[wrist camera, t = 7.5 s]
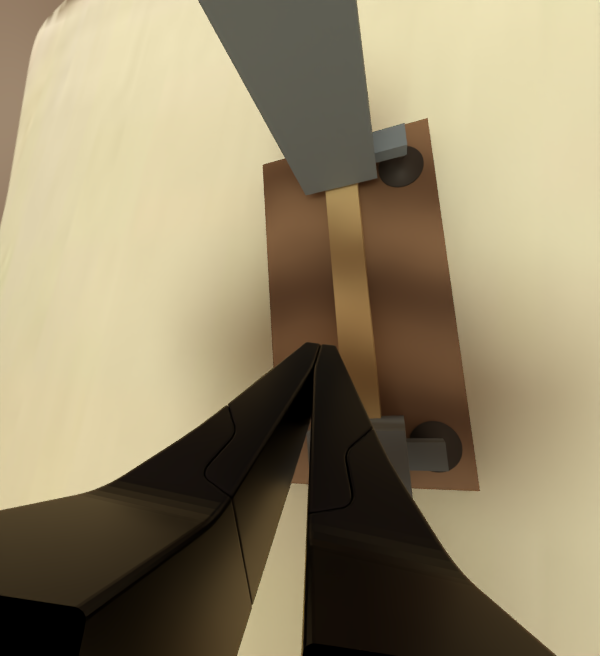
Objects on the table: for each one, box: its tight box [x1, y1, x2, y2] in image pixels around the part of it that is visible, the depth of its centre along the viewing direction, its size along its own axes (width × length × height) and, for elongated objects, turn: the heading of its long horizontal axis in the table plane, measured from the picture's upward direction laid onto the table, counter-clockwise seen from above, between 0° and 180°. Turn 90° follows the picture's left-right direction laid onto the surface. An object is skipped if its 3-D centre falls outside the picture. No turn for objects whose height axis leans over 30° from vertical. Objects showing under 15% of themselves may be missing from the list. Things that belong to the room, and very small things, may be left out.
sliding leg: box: [198, 0, 407, 195], centre depth 12 cm, size 3×6×12 cm, turn 94°
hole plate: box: [263, 118, 480, 498], centre depth 16 cm, size 20×10×5 cm, turn 4°
